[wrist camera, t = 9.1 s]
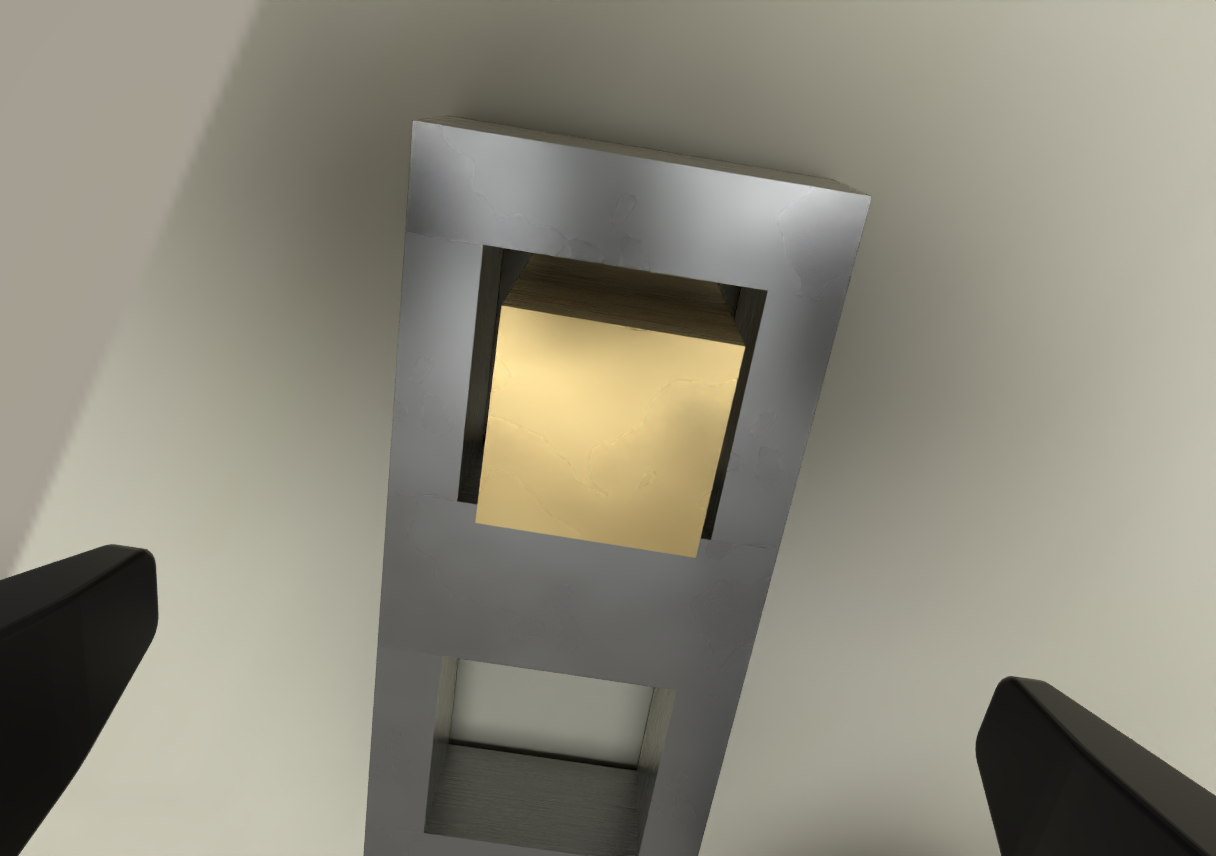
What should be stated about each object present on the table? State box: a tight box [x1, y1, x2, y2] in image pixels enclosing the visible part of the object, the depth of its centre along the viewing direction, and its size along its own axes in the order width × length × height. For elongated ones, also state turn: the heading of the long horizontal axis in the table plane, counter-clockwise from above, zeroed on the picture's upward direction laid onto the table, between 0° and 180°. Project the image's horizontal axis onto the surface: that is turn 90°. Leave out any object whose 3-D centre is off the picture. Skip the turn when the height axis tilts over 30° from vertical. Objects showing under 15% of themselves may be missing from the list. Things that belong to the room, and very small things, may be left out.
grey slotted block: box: [364, 116, 872, 856], centre depth 19 cm, size 8×18×3 cm, turn 171°
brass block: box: [475, 253, 745, 558], centre depth 17 cm, size 4×4×5 cm
